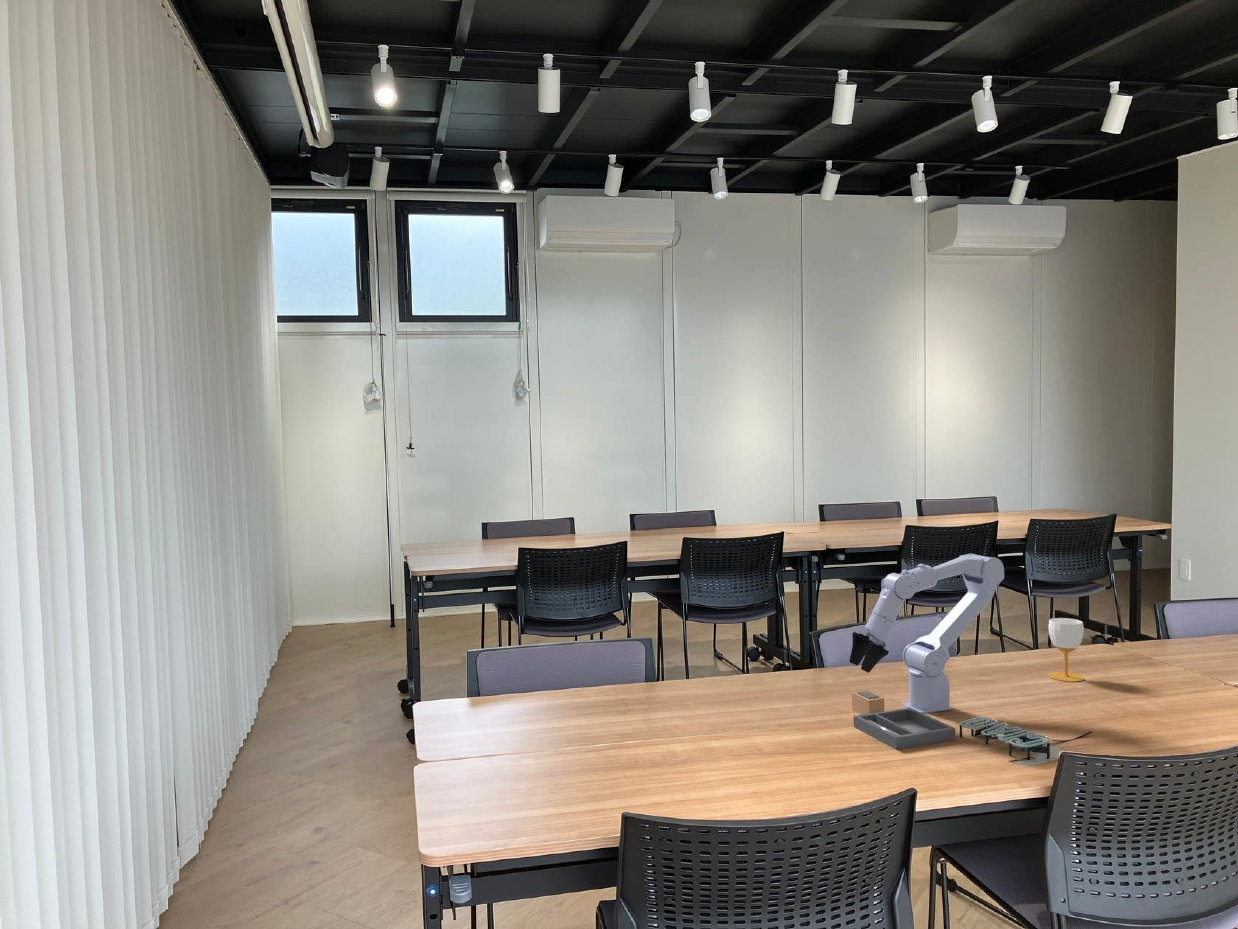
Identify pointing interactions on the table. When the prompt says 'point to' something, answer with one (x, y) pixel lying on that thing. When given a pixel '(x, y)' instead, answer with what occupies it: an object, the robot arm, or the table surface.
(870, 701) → the block
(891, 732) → the rod
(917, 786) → the table surface
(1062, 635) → the cup
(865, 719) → the grey divided tray
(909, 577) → the robot arm
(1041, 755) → the neon sign
